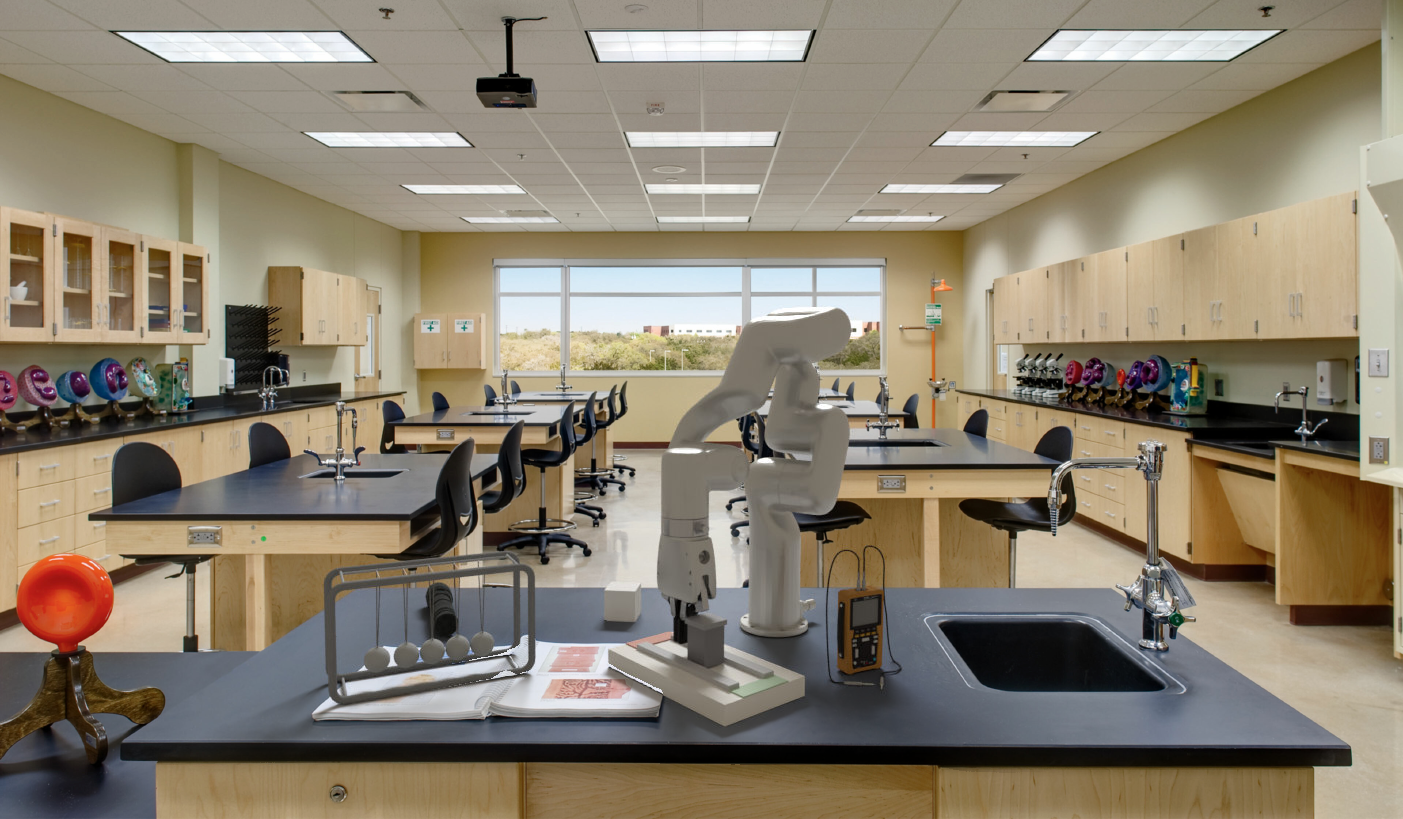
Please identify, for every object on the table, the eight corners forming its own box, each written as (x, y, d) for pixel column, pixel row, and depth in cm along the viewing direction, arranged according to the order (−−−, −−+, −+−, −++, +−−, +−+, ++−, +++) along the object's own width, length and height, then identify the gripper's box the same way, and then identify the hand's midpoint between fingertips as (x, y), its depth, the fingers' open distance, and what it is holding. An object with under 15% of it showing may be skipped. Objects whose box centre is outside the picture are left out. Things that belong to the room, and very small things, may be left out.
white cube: (604, 621, 157) (604, 590, 157) (611, 611, 163) (611, 581, 163) (635, 622, 157) (635, 591, 156) (641, 612, 163) (641, 582, 162)
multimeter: (856, 697, 123) (859, 564, 121) (817, 674, 132) (819, 549, 130) (932, 679, 129) (935, 553, 128) (889, 659, 138) (892, 540, 137)
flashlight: (451, 604, 168) (450, 580, 167) (461, 637, 148) (460, 609, 148) (425, 607, 166) (424, 582, 166) (432, 640, 147) (431, 612, 146)
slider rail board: (684, 645, 144) (684, 623, 144) (804, 695, 123) (804, 670, 123) (608, 667, 134) (608, 644, 134) (724, 726, 113) (724, 699, 112)
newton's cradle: (329, 708, 118) (326, 585, 117) (325, 682, 127) (323, 568, 126) (536, 673, 131) (535, 562, 130) (519, 652, 141) (518, 548, 139)
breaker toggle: (707, 654, 131) (707, 612, 130) (726, 662, 127) (727, 619, 127) (684, 661, 128) (684, 618, 127) (704, 670, 124) (704, 625, 124)
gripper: (734, 531, 127) (733, 649, 128) (674, 516, 138) (674, 624, 140) (696, 538, 122) (695, 660, 123) (637, 522, 134) (637, 634, 135)
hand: (684, 641), depth 131 cm, fingers closed
